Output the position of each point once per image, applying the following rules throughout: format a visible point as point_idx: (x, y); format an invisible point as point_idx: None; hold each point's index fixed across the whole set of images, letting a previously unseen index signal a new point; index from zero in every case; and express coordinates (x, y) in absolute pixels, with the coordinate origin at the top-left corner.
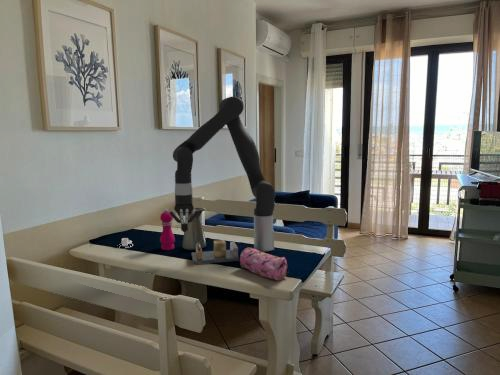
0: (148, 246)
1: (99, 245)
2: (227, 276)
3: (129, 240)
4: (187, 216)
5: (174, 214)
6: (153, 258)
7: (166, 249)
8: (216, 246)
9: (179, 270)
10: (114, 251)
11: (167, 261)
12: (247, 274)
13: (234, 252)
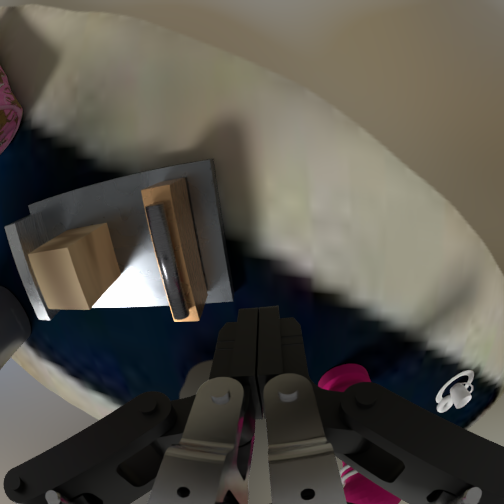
0: (402, 391)
1: (495, 378)
2: (74, 32)
3: (442, 410)
4: (169, 481)
5: (447, 494)
6: (410, 273)
7: (351, 365)
8: (70, 242)
9: (281, 80)
10: (489, 343)
11: (353, 224)
12: (22, 67)
13: (25, 217)
